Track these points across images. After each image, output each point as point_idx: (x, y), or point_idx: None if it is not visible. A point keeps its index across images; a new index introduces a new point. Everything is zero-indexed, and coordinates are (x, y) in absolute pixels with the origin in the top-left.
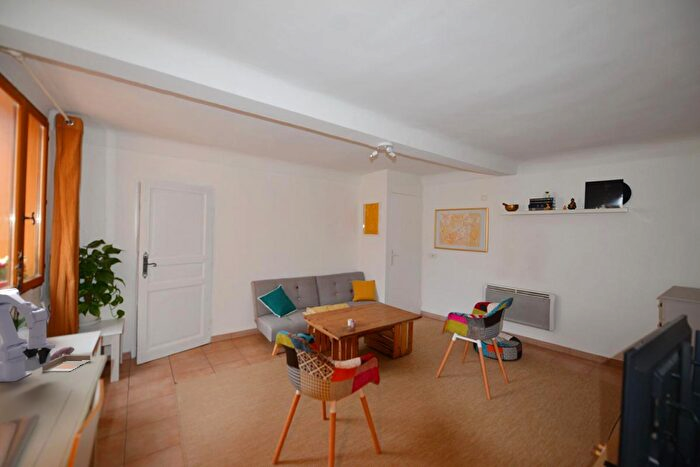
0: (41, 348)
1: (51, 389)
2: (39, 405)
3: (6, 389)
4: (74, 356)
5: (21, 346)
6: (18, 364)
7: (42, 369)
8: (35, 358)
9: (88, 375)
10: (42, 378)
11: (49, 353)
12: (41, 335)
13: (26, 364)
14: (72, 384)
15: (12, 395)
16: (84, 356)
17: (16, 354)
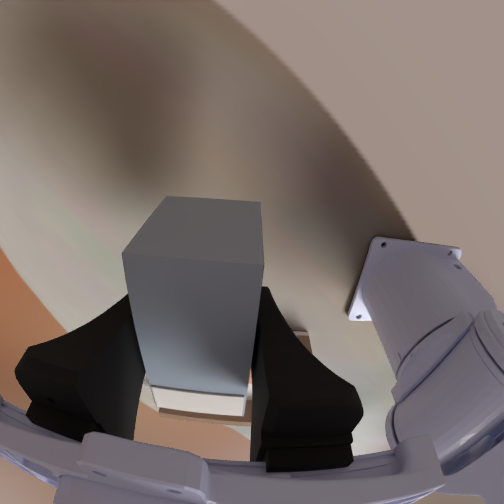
0: (81, 433)
1: (61, 128)
2: (14, 8)
3: (345, 139)
4: (230, 417)
5: (422, 472)
6: (407, 324)
7: (309, 340)
8: (153, 305)
9: (35, 268)
10: None
11: (156, 400)
12: None
13: (234, 230)
14: (18, 184)
15: (229, 52)
16: (179, 412)
17: (449, 381)
